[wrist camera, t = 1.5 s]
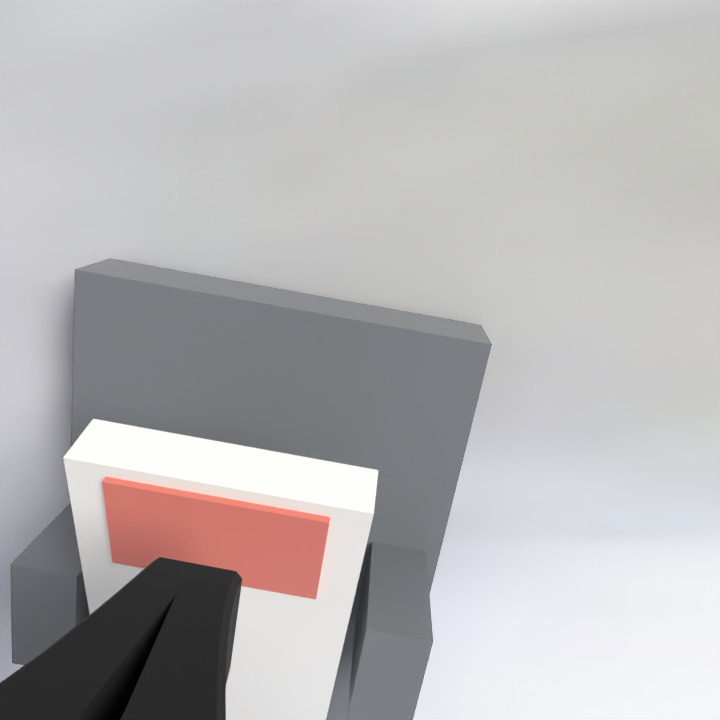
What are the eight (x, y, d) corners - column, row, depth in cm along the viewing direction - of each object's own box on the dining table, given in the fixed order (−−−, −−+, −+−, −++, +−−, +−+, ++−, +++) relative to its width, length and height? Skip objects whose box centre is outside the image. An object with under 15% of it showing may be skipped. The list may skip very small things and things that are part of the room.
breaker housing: (382, 733, 22) (378, 905, 17) (93, 680, 22) (1, 837, 17) (481, 325, 17) (517, 392, 12) (110, 258, 17) (-14, 296, 12)
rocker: (316, 745, 19) (308, 794, 18) (129, 711, 19) (110, 757, 18) (378, 470, 12) (373, 519, 11) (93, 418, 12) (59, 463, 11)
